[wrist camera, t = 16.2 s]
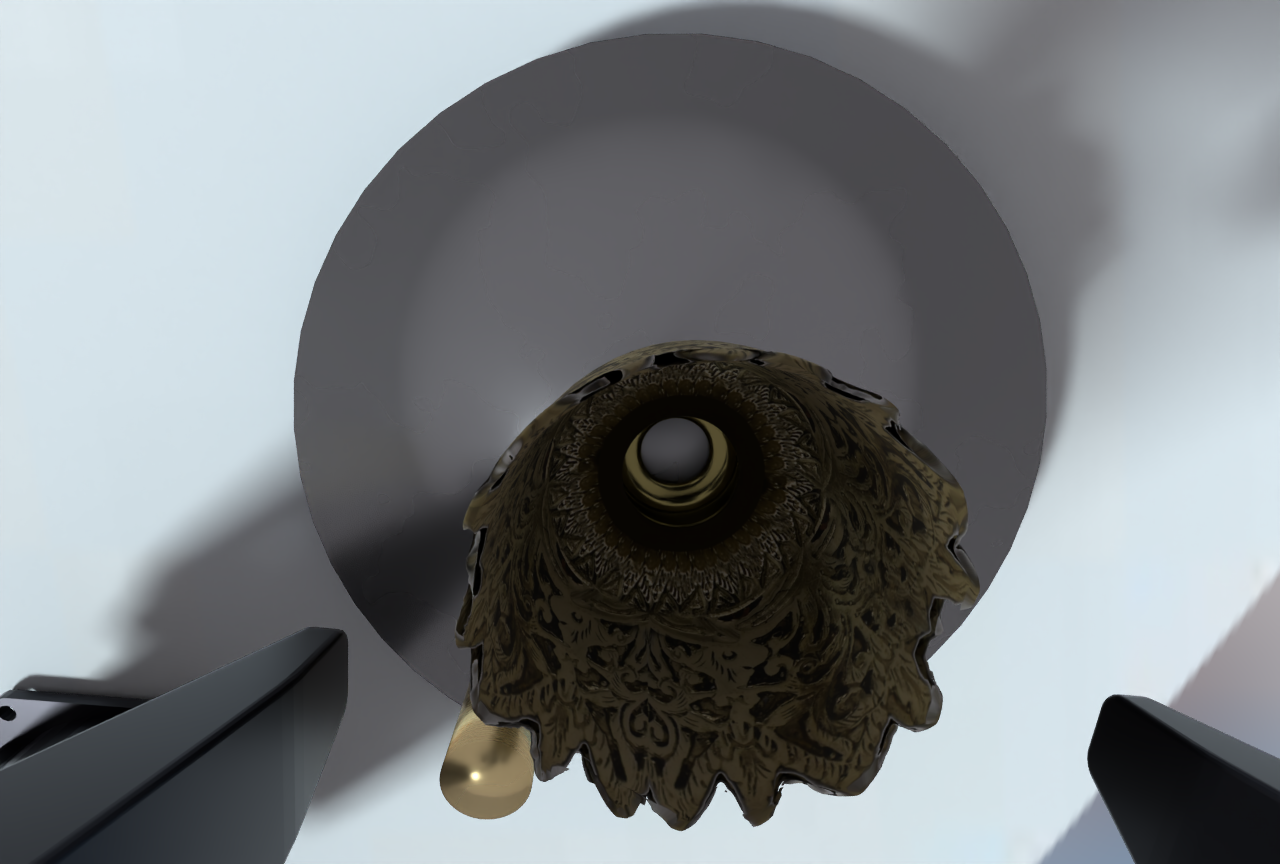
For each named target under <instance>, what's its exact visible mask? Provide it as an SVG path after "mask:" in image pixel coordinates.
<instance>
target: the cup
mask: <svg viewBox="0 0 1280 864" xmlns="http://www.w3.org/2000/svg"><path fill="white" fill-rule="evenodd" d="M899 413H900V411H899V410H898V409H897V407H896V406H895V405H894V404H892V403H891V402H890V401H889V400H887V399H886V398H884V397H882V396H880V395H878V394H876V393H874V392H870V391H867V390H865V389H861V388H859V387H856V386H854V385H851V384H849V383H846V382H844V381H842V380H840V379H837V378H835V377H834V376H832V373H831V372H830V371H829V370H828V369H826V368H824V367H822V366H819V365H817V364H815V363H812V362H810V361H807V360H805V359H802V358H799V357H796V356H793V355H789V354H786V353H781V352H775V351H770V352H767V351H763V350H760V349H756V348H753V347H749V346H744V345H739V344H733V343H727V342H721V341H705V340H686V341H672V342H666V343H661V344H655V345H651V346H647V347H644V348H640V349H637V350H634V351H631V352H629V353H626V354H624V355H621V356H619V357H617V358H614V359H612V360H611V361H609V362H607V363H605V364H603V365H602V366H600V367H598V368H596V369H595V370H593V371H592V372H590V373H589V374H587V375H586V376H585V377H583V378H582V379H580V380H579V381H578V382H576V383H575V384H574V385H572V386H571V387H570V388H569V389H568V390H567V391H566V392H565V393H563V394H562V395H561V396H560V397H559V398H558V399H557V400H556V401H555V402H554V403H552V404H551V405H550V406H549V407H548V408H546V409H545V410H544V411H543V412H542V413H540V414H539V415H538V416H537V417H536V418H535V419H534V420H533V421H532V422H531V423H530V424H529V425H528V426H527V427H526V428H525V429H524V430H523V431H522V432H521V433H520V434H519V435H518V436H517V437H516V439H515V440H514V441H513V442H512V443H511V445H510V446H509V447H508V448H507V450H506V451H505V452H504V453H503V455H502V456H501V457H500V459H499V460H498V462H497V463H496V464H495V466H494V468H493V470H492V472H491V474H490V476H489V478H488V479H487V480H486V481H485V482H484V483H483V484H482V485H481V487H480V488H479V489H478V490H477V492H476V493H475V495H474V497H473V499H472V501H471V502H470V505H469V507H468V509H467V512H466V515H465V518H464V521H463V530H466V529H470V530H472V531H473V539H472V543H471V547H470V550H469V553H468V556H467V558H466V570H467V572H468V575H469V578H468V582H469V583H468V588H467V591H466V594H465V596H464V597H463V605H462V608H461V611H460V614H459V617H458V619H457V622H456V627H455V639H456V646H457V647H458V648H459V649H460V650H461V649H466V648H471V664H470V700H471V704H472V708H473V711H474V713H475V714H476V716H477V717H478V718H479V719H480V720H481V721H482V722H483V723H484V724H485V725H489V726H496V727H500V728H502V727H508V728H513V727H514V728H520V727H524V728H525V729H527V730H529V731H530V734H531V745H530V754H531V757H532V759H533V764H534V771H535V774H536V776H537V778H538V779H539V780H540V781H543V782H546V781H548V780H551V779H553V778H554V777H555V776H557V775H559V774H561V773H563V772H564V771H567V770H569V768H566V767H567V766H568V765H569V763H570V761H571V759H572V757H573V756H574V754H575V753H576V752H577V751H579V752H580V753H581V755H582V764H583V768H584V771H585V774H586V777H587V780H588V781H589V782H591V783H594V784H595V785H596V787H597V789H598V791H599V793H600V795H601V797H602V798H603V800H604V802H605V804H606V805H607V807H608V808H609V809H610V810H611V812H612V813H613V814H614V815H615V816H616V817H620V818H628V817H631V816H633V815H634V813H635V812H636V809H637V808H638V806H639V804H640V803H641V804H643V805H645V802H646V800H647V801H648V803H649V804H650V805H651V808H652V810H653V811H654V812H655V813H657V814H658V815H659V816H660V817H662V818H663V819H664V820H665V821H666V823H667V824H668V825H669V826H670V827H671V828H673V829H675V830H678V831H683V830H686V829H688V828H689V827H691V826H692V825H694V824H695V823H696V822H697V820H698V819H699V818H700V817H701V815H702V814H703V812H704V811H705V810H706V809H707V807H708V806H709V804H710V802H711V800H712V798H713V796H714V794H715V791H716V788H717V787H716V786H717V784H718V783H719V782H723V783H724V784H725V785H726V787H727V789H728V790H730V791H731V792H732V794H733V795H734V797H735V798H736V800H737V802H738V804H739V806H740V808H741V810H742V811H743V813H744V814H743V816H744V818H745V819H746V820H748V821H749V822H750V824H752V826H753V827H755V826H759V825H761V824H763V823H764V822H766V821H768V820H769V819H770V818H771V817H772V816H773V814H774V810H775V808H776V806H777V805H778V803H779V800H780V798H781V796H782V795H781V791H782V789H783V787H782V788H780V789H779V791H778V788H779V786H780V784H781V783H782V782H783V781H784V782H783V783H782V785H784V784H793V783H803V784H806V785H808V786H809V787H810V788H811V789H813V790H815V791H817V792H819V793H822V794H828V795H833V796H857V795H860V794H861V793H863V792H864V791H865V790H866V788H867V787H868V786H869V784H870V783H871V782H872V781H873V779H874V778H875V776H876V775H877V773H878V772H879V770H880V768H881V767H882V764H883V761H884V759H885V756H886V754H887V752H888V751H889V748H890V744H891V742H892V738H893V735H894V734H895V732H896V731H897V729H898V726H900V725H901V726H900V727H904V728H906V729H908V730H911V731H913V732H920V731H924V730H926V729H929V728H931V727H932V726H934V725H936V723H937V722H938V720H939V717H940V714H941V709H942V702H943V696H942V693H941V691H940V689H939V687H938V686H937V684H936V682H935V679H934V676H933V672H932V671H931V670H930V669H929V665H928V662H927V661H926V652H927V649H928V646H929V643H930V641H931V640H932V639H934V638H936V637H937V636H939V635H941V634H942V632H943V627H942V621H941V611H942V609H943V606H944V602H945V599H946V600H949V601H951V602H953V604H954V605H959V604H961V609H960V610H964V609H967V608H971V607H973V605H974V603H975V601H976V599H977V596H978V594H979V592H980V583H979V578H978V575H977V572H976V569H975V567H974V565H973V563H972V562H971V560H970V558H969V557H968V555H967V553H966V552H965V550H964V549H963V547H962V546H961V545H960V544H959V543H960V541H961V538H962V537H963V536H964V535H965V534H966V532H967V529H968V508H967V502H966V499H965V496H964V491H963V490H962V488H961V486H960V484H959V483H958V482H957V480H956V479H955V477H954V476H953V475H952V474H951V472H950V471H949V470H948V469H947V468H946V467H945V465H944V464H943V463H942V462H941V461H940V460H939V459H938V458H937V457H936V456H935V455H934V454H933V453H932V452H931V451H930V449H929V448H928V447H927V446H926V445H924V444H923V443H922V442H920V441H919V440H917V439H916V438H915V437H914V436H913V435H912V434H910V433H909V432H908V431H907V430H906V429H905V428H904V427H903V426H902V425H900V424H899V420H898V419H899V417H900V414H899ZM672 418H680V419H685V420H688V421H691V422H693V423H694V424H696V425H697V426H698V427H699V428H700V429H701V430H702V431H703V432H704V434H705V435H706V437H707V440H708V443H709V457H708V460H707V463H706V465H705V467H704V468H703V470H702V471H701V472H700V473H699V474H698V475H697V476H696V477H694V478H692V479H691V480H688V481H686V482H682V483H667V482H663V481H661V480H659V479H657V478H655V477H654V476H653V475H651V474H650V473H649V471H648V470H647V469H646V467H645V465H644V463H643V460H642V456H641V447H642V443H643V440H644V437H645V436H646V434H647V433H648V431H649V430H650V429H651V428H652V427H653V426H654V425H656V424H657V423H659V422H661V421H664V420H667V419H672ZM933 680H934V681H933ZM898 724H899V725H898ZM566 769H567V770H566ZM725 792H726V793H727V791H725ZM646 796H647V798H648V799H646Z"/></svg>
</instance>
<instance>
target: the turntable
mask: <svg viewBox="0 0 1280 864" xmlns="http://www.w3.org/2000/svg"><path fill="white" fill-rule="evenodd" d="M686 340H705V341H721V342H727V343H733V344H739V345H744V346H749V347H753V348H756V349H760V350H763V351H767V352H770V351H775V352H781V353H786V354H789V355H793V356H796V357H799V358H802V359H805V360H807V361H810V362H812V363H815V364H817V365H819V366H822V367H824V368H826V369H828V370H829V371H830V372H831V373H832V376H834V377H835V378H837V379H840V380H842V381H844V382H846V383H849V384H851V385H854V386H856V387H859V388H861V389H865V390H867V391H870V392H874V393H876V394H878V395H880V396H882V397H884V398H886V399H887V400H889V401H890V402H891V403H892V404H894V405H895V406H896V407H897V409H898V410H899V411H900V413H899V414H900V417H899V419H898V420H899V424H900V425H902V426H903V427H904V428H905V429H906V430H907V431H908V432H909V433H910V434H912V435H913V436H914V437H915V438H916V439H917V440H919V441H920V442H922V443H923V444H924V445H926V446H927V447H928V448H929V449H930V451H931V452H932V453H933V454H934V455H935V456H936V457H937V458H938V459H939V460H940V461H941V462H942V463H943V464H944V465H945V467H946V468H947V469H948V470H949V471H950V472H951V474H952V475H953V476H954V477H955V479H956V480H957V482H958V483H959V484H960V486H961V488H962V490H963V491H964V496H965V499H966V502H967V508H968V529H967V532H966V534H965V535H964V536H963V537H962V538H961V541H960V543H959V544H960V545H961V546H962V547H963V549H964V550H965V552H966V553H967V555H968V557H969V558H970V560H971V562H972V563H973V565H974V567H975V569H976V572H977V575H978V578H979V583H980V592H979V594H978V596H977V599H976V601H975V603H974V605H973V607H971V608H967V609H964V610H960V609H961V604H959V605H954V604H953V602H951V601H949V600H946V599H945V602H944V606H943V609H942V611H941V621H942V627H943V632H942V634H941V635H939V636H937V637H936V638H934V639H932V640H931V641H930V643H929V646H928V649H927V652H926V661H927V660H928V659H929V658H931V656H932V655H933V654H934V653H935V652H936V651H937V650H938V649H939V648H940V647H941V646H942V645H943V644H944V643H945V642H946V641H947V640H948V638H949V637H950V636H951V635H952V634H953V633H954V632H955V631H956V630H957V629H958V628H959V627H960V626H961V625H962V623H963V622H964V621H965V619H966V618H967V616H968V615H969V614H970V612H971V611H972V610H973V608H974V607H975V606H976V604H977V603H978V602H979V600H980V599H981V598H982V596H983V595H984V594H985V592H986V591H987V590H988V588H989V586H990V584H991V583H992V581H993V579H994V577H995V576H996V574H997V572H998V570H999V569H1000V567H1001V565H1002V563H1003V561H1004V560H1005V558H1006V556H1007V554H1008V553H1009V551H1010V549H1011V547H1012V544H1013V542H1014V539H1015V537H1016V534H1017V532H1018V530H1019V527H1020V525H1021V522H1022V520H1023V518H1024V515H1025V513H1026V510H1027V508H1028V505H1029V501H1030V497H1031V493H1032V490H1033V486H1034V482H1035V479H1036V475H1037V471H1038V468H1039V464H1040V458H1041V451H1042V444H1043V436H1044V429H1045V422H1046V362H1045V355H1044V347H1043V340H1042V333H1041V325H1040V319H1039V316H1038V312H1037V309H1036V305H1035V301H1034V298H1033V294H1032V291H1031V287H1030V284H1029V280H1028V276H1027V273H1026V271H1025V268H1024V266H1023V264H1022V262H1021V259H1020V257H1019V255H1018V252H1017V250H1016V248H1015V246H1014V243H1013V241H1012V239H1011V237H1010V234H1009V232H1008V230H1007V227H1006V226H1005V224H1004V223H1003V221H1002V219H1001V218H1000V216H999V215H998V213H997V211H996V210H995V208H994V207H993V205H992V203H991V202H990V200H989V199H988V197H987V195H986V194H985V192H984V191H983V189H982V187H981V186H980V184H979V183H978V182H977V181H976V179H975V178H974V177H973V176H972V175H971V173H970V172H969V171H968V170H967V169H966V168H965V166H964V165H963V164H962V163H961V162H960V160H959V159H958V158H957V157H956V156H955V155H954V153H953V152H952V151H951V150H950V149H949V147H948V146H947V145H946V144H945V143H944V142H943V141H941V140H940V139H939V138H938V137H937V136H936V135H935V134H934V133H932V132H931V131H930V130H929V129H928V128H927V127H926V126H924V125H923V124H922V123H921V122H920V121H919V120H918V119H917V118H915V117H914V116H913V115H912V114H911V113H910V112H909V111H907V110H906V109H905V108H903V107H902V106H900V105H899V104H897V103H896V102H894V101H893V100H891V99H889V98H888V97H886V96H885V95H883V94H882V93H880V92H879V91H877V90H876V89H874V88H873V87H871V86H869V85H868V84H866V83H865V82H863V81H862V80H860V79H858V78H856V77H853V76H851V75H849V74H847V73H845V72H843V71H840V70H838V69H836V68H834V67H832V66H829V65H827V64H825V63H823V62H821V61H819V60H816V59H814V58H812V57H809V56H806V55H802V54H799V53H795V52H792V51H789V50H785V49H782V48H778V47H775V46H771V45H768V44H765V43H761V42H757V41H750V40H743V39H736V38H729V37H722V36H714V35H707V34H645V35H638V36H631V37H625V38H618V39H612V40H605V41H598V42H592V43H588V44H585V45H581V46H578V47H575V48H571V49H568V50H565V51H562V52H558V53H555V54H552V55H548V56H545V57H542V58H538V59H536V60H534V61H531V62H529V63H527V64H525V65H523V66H521V67H519V68H517V69H514V70H512V71H510V72H508V73H506V74H504V75H502V76H499V77H497V78H495V79H493V80H491V81H489V82H487V83H485V84H483V85H482V86H480V87H479V88H477V89H476V90H474V91H473V92H471V93H470V94H468V95H467V96H465V97H464V98H462V99H461V100H459V101H458V102H456V103H455V104H453V105H452V106H450V107H448V108H447V109H445V110H444V111H442V112H441V113H439V114H438V115H437V116H436V117H435V118H434V119H433V120H432V121H430V122H429V123H428V124H427V125H426V126H425V127H424V128H423V129H421V130H420V131H419V132H418V133H417V134H416V135H415V136H413V137H412V138H411V139H410V140H409V141H408V142H407V143H406V144H404V145H403V146H402V147H401V148H400V149H399V150H398V151H397V152H396V153H395V155H394V156H393V157H392V158H391V159H390V160H389V162H388V163H387V164H386V165H385V166H384V168H383V169H382V170H381V171H380V172H379V173H378V175H377V176H376V177H375V178H374V179H373V180H372V182H371V183H370V184H369V185H368V186H367V188H366V189H365V190H364V191H363V193H362V195H361V196H360V198H359V199H358V201H357V202H356V204H355V206H354V207H353V209H352V210H351V212H350V214H349V215H348V217H347V218H346V220H345V222H344V223H343V225H342V226H341V228H340V230H339V231H338V233H337V234H336V236H335V238H334V241H333V243H332V245H331V247H330V250H329V252H328V254H327V256H326V259H325V261H324V263H323V265H322V268H321V270H320V272H319V274H318V277H317V279H316V281H315V284H314V287H313V291H312V294H311V298H310V301H309V305H308V308H307V312H306V315H305V319H304V322H303V326H302V329H301V334H300V342H299V349H298V356H297V363H296V370H295V377H294V432H295V439H296V447H297V454H298V461H299V468H300V476H301V480H302V483H303V487H304V490H305V494H306V497H307V501H308V505H309V508H310V512H311V515H312V519H313V522H314V525H315V527H316V529H317V532H318V534H319V536H320V539H321V541H322V543H323V546H324V548H325V550H326V553H327V555H328V557H329V560H330V562H331V564H332V566H333V568H334V569H335V571H336V573H337V574H338V576H339V578H340V579H341V581H342V583H343V584H344V586H345V588H346V590H347V591H348V593H349V595H350V596H351V598H352V600H353V601H354V603H355V604H356V606H357V607H358V608H359V610H360V611H361V612H362V613H363V615H364V616H365V617H366V619H367V620H368V621H369V622H370V624H371V625H372V626H373V627H374V629H375V630H376V631H377V633H378V634H379V635H380V636H381V638H382V639H383V640H384V641H385V642H386V643H387V644H388V645H389V646H390V647H391V648H392V649H393V650H394V651H395V652H396V653H397V654H398V655H399V656H400V657H401V658H402V659H403V660H404V661H405V662H406V663H407V664H408V665H409V666H410V667H411V668H412V669H413V670H414V671H416V672H417V673H418V674H419V675H421V676H422V677H423V678H425V679H426V680H427V681H428V682H430V683H431V684H432V685H433V686H435V687H436V688H437V689H439V690H440V691H441V692H442V693H444V694H445V695H446V696H448V697H449V698H451V699H452V700H454V701H456V702H457V703H459V704H461V705H462V708H461V711H460V714H459V717H458V720H457V723H456V726H455V729H454V732H453V735H452V738H451V741H450V744H449V747H448V750H447V753H446V756H445V759H444V762H443V766H442V769H441V772H440V787H441V790H442V793H443V795H444V797H445V798H446V800H447V801H448V802H449V804H450V805H452V806H453V807H454V808H455V809H456V810H458V811H459V812H461V813H463V814H465V815H467V816H470V817H473V818H478V819H497V818H501V817H505V816H507V815H510V814H511V813H513V812H515V811H516V810H518V809H519V808H520V807H521V806H522V805H523V804H524V803H525V802H526V800H527V799H528V797H529V794H530V792H531V788H532V782H533V776H534V764H533V759H532V757H531V754H530V745H531V734H530V731H529V730H527V729H525V728H524V727H520V728H514V727H513V728H508V727H502V728H500V727H496V726H489V725H485V724H484V723H483V722H482V721H481V720H480V719H479V718H478V717H477V716H476V714H475V713H474V711H473V708H472V704H471V700H470V664H471V648H466V649H461V650H460V649H459V648H458V647H457V646H456V639H455V627H456V622H457V619H458V617H459V614H460V611H461V608H462V605H463V597H464V596H465V594H466V591H467V588H468V583H469V582H468V578H469V575H468V572H467V570H466V558H467V556H468V553H469V550H470V547H471V543H472V539H473V531H472V530H470V529H466V530H463V521H464V518H465V515H466V512H467V509H468V507H469V505H470V502H471V501H472V499H473V497H474V495H475V493H476V492H477V490H478V489H479V488H480V487H481V485H482V484H483V483H484V482H485V481H486V480H487V479H488V478H489V476H490V474H491V472H492V470H493V468H494V466H495V464H496V463H497V462H498V460H499V459H500V457H501V456H502V455H503V453H504V452H505V451H506V450H507V448H508V447H509V446H510V445H511V443H512V442H513V441H514V440H515V439H516V437H517V436H518V435H519V434H520V433H521V432H522V431H523V430H524V429H525V428H526V427H527V426H528V425H529V424H530V423H531V422H532V421H533V420H534V419H535V418H536V417H537V416H538V415H539V414H540V413H542V412H543V411H544V410H545V409H546V408H548V407H549V406H550V405H551V404H552V403H554V402H555V401H556V400H557V399H558V398H559V397H560V396H561V395H562V394H563V393H565V392H566V391H567V390H568V389H569V388H570V387H571V386H572V385H574V384H575V383H576V382H578V381H579V380H580V379H582V378H583V377H585V376H586V375H587V374H589V373H590V372H592V371H593V370H595V369H596V368H598V367H600V366H602V365H603V364H605V363H607V362H609V361H611V360H612V359H614V358H617V357H619V356H621V355H624V354H626V353H629V352H631V351H634V350H637V349H640V348H644V347H647V346H651V345H655V344H661V343H666V342H672V341H686ZM641 456H642V460H643V463H644V465H645V467H646V469H647V470H648V471H649V473H650V474H651V475H653V476H654V477H655V478H657V479H659V480H661V481H663V482H667V483H682V482H686V481H688V480H691V479H692V478H694V477H696V476H697V475H698V474H699V473H700V472H701V471H702V470H703V468H704V467H705V465H706V463H707V460H708V457H709V443H708V440H707V437H706V435H705V434H704V432H703V431H702V430H701V429H700V428H699V427H698V426H697V425H696V424H694V423H693V422H691V421H688V420H685V419H680V418H672V419H667V420H664V421H661V422H659V423H657V424H656V425H654V426H653V427H652V428H651V429H650V430H649V431H648V433H647V434H646V436H645V437H644V440H643V443H642V447H641ZM576 753H580V752H579V751H577V752H576ZM580 754H581V753H580Z"/></svg>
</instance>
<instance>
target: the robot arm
mask: <svg viewBox="0 0 1280 864" xmlns="http://www.w3.org/2000/svg"><path fill="white" fill-rule="evenodd" d="M347 696H348V639H347V635H346V634H345V632H344V631H343V630H340V629H331V628H319V627H308V628H305V629H303V630H301V631H299V632H297V633H295V634H292V635H290V636H288V637H286V638H284V639H282V640H279V641H277V642H275V643H273V644H271V645H269V646H267V647H264V648H262V649H260V650H258V651H256V652H254V653H251V654H249V655H247V656H245V657H243V658H241V659H238V660H236V661H234V662H232V663H230V664H228V665H225V666H223V667H221V668H219V669H217V670H215V671H213V672H210V673H208V674H206V675H204V676H202V677H200V678H197V679H195V680H193V681H191V682H189V683H187V684H184V685H182V686H180V687H178V688H176V689H174V690H171V691H169V692H167V693H165V694H163V695H161V696H159V697H156V698H154V699H152V700H142V699H129V698H117V697H104V696H91V695H78V694H65V693H52V692H39V691H26V690H9V691H7V692H5V693H3V694H2V695H1V696H0V864H284V863H285V861H286V859H287V857H288V854H289V852H290V850H291V848H292V846H293V844H294V842H295V840H296V837H297V835H298V832H299V830H300V828H301V825H302V823H303V820H304V818H305V815H306V812H307V810H308V807H309V804H310V802H311V799H312V797H313V794H314V791H315V789H316V786H317V783H318V781H319V778H320V776H321V773H322V770H323V768H324V765H325V762H326V760H327V757H328V755H329V752H330V749H331V747H332V744H333V742H334V739H335V736H336V734H337V731H338V728H339V726H340V723H341V721H342V718H343V715H344V712H345V708H346V703H347ZM10 707H12V708H13V709H14V710H15V711H13V710H12V709H11V708H10ZM1087 761H1088V767H1089V771H1090V774H1091V776H1092V779H1093V781H1094V783H1095V785H1096V787H1097V789H1098V791H1099V793H1100V795H1101V797H1102V799H1103V801H1104V803H1105V805H1106V806H1107V808H1108V810H1109V813H1110V815H1111V816H1112V819H1113V821H1114V823H1115V825H1116V826H1117V829H1118V831H1119V833H1120V835H1121V836H1122V839H1123V841H1124V843H1125V845H1126V847H1127V849H1128V851H1129V853H1130V855H1131V857H1132V859H1133V861H1134V863H1135V864H1280V759H1279V758H1277V757H1275V756H1273V755H1270V754H1268V753H1266V752H1264V751H1262V750H1260V749H1258V748H1256V747H1253V746H1251V745H1249V744H1247V743H1245V742H1242V741H1240V740H1238V739H1236V738H1234V737H1232V736H1230V735H1228V734H1225V733H1223V732H1221V731H1219V730H1217V729H1215V728H1212V727H1210V726H1208V725H1206V724H1204V723H1202V722H1200V721H1197V720H1195V719H1193V718H1191V717H1189V716H1187V715H1184V714H1182V713H1180V712H1178V711H1176V710H1174V709H1172V708H1169V707H1167V706H1165V705H1163V704H1161V703H1159V702H1157V701H1154V700H1152V699H1150V698H1147V697H1142V696H1131V695H1112V696H1110V697H1108V698H1107V699H1106V700H1105V701H1104V703H1103V705H1102V707H1101V711H1100V714H1099V717H1098V720H1097V723H1096V727H1095V730H1094V733H1093V736H1092V739H1091V743H1090V746H1089V749H1088V757H1087Z"/></svg>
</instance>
